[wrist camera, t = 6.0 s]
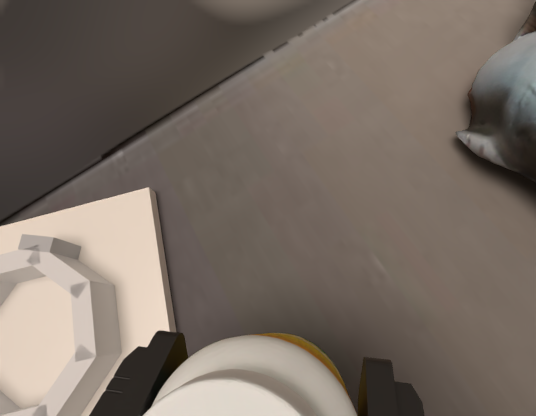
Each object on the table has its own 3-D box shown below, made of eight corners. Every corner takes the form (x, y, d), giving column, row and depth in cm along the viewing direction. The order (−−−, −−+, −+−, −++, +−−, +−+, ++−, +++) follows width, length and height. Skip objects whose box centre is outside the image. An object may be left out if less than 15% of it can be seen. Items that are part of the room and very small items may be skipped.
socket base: (155, 192, 24) (129, 171, 21) (193, 446, 20) (168, 471, 16) (-57, 248, 24) (-116, 236, 21) (-65, 506, 20) (-140, 542, 17)
